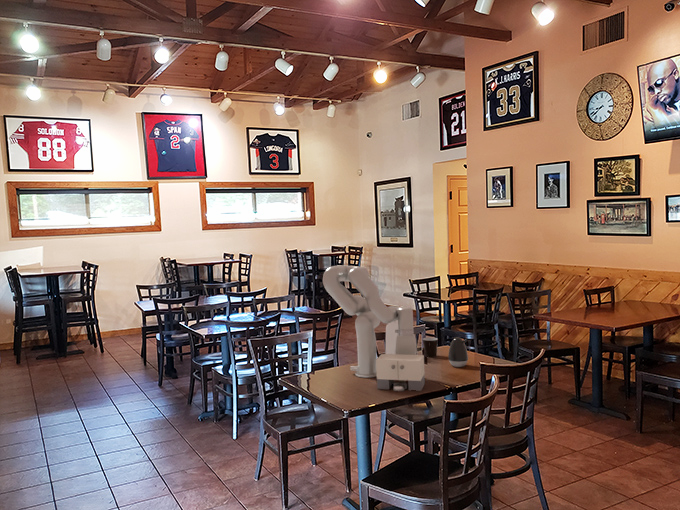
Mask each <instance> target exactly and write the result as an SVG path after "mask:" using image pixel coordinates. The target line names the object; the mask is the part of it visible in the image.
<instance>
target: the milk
mask: <svg viewBox="0 0 680 510" xmlns="http://www.w3.org/2000/svg"><path fill="white" fill-rule="evenodd" d="M397 329H398V320H396V321H393V322H391V323H388V324H386V326H385V352H384V354H396V336H397V335H398V333H395V330H397Z"/></svg>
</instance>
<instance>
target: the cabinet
mask: <svg viewBox="0 0 680 510" xmlns="http://www.w3.org/2000/svg"><path fill="white" fill-rule="evenodd" d="M376 371H377V376H376V389H377V390H390V389H391V387H392V386H393V385H394V382H395V381H400V380H406V381H408V383H407V387H408V391H411V390H416V391H417V392H421V391H422V390H423V388H424V386H425V383H426V382H425V381H426V380H425V378H426V377H425V354H418V355H403V354H385V353H381V354H380V355H379V356H378V357H377V359H376ZM392 384H393V385H392ZM416 391H415V392H416Z"/></svg>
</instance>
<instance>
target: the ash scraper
mask: <svg viewBox="0 0 680 510" xmlns="http://www.w3.org/2000/svg"><path fill="white" fill-rule="evenodd" d="M406 381H407V380H399V382H398V381H394V383H393V386H394V385H397V384H401V385H404V390H408V383H407V382H406Z"/></svg>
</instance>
